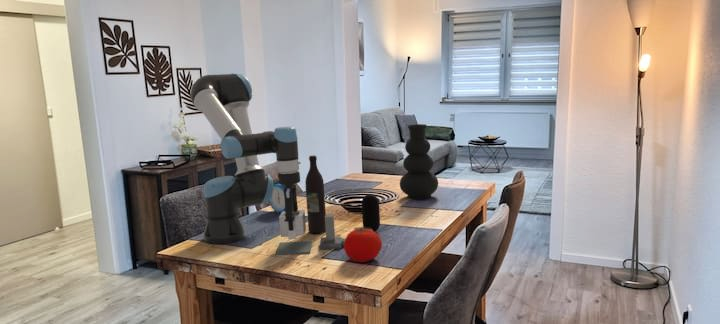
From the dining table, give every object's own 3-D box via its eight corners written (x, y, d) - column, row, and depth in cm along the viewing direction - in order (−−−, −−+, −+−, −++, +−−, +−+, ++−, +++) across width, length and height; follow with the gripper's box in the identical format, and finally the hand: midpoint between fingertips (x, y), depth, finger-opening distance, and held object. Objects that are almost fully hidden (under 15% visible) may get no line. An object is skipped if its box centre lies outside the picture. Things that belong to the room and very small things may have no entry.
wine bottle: (306, 230, 201) (301, 155, 196) (323, 227, 203) (318, 153, 199) (311, 235, 194) (306, 158, 189) (329, 232, 197) (324, 156, 192)
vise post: (320, 249, 177) (318, 219, 175) (321, 242, 185) (319, 213, 183) (373, 247, 177) (372, 216, 175) (372, 239, 185) (371, 210, 183)
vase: (444, 194, 248) (442, 123, 242) (428, 203, 233) (426, 127, 227) (410, 191, 258) (408, 123, 252) (393, 200, 243) (390, 127, 237)
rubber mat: (275, 255, 174) (274, 253, 174) (279, 244, 186) (279, 242, 186) (309, 253, 174) (309, 251, 174) (312, 242, 186) (312, 240, 186)
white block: (280, 237, 175) (278, 217, 174) (283, 230, 183) (282, 211, 182) (303, 235, 175) (302, 216, 174) (305, 229, 183) (304, 210, 182)
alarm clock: (268, 211, 234) (265, 179, 231) (278, 208, 239) (275, 177, 236) (288, 214, 226) (286, 181, 224) (298, 211, 231) (296, 179, 228)
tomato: (350, 253, 173) (349, 223, 171) (385, 254, 169) (384, 224, 167) (340, 265, 162) (338, 233, 160) (377, 267, 158) (375, 234, 157)
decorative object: (378, 229, 198) (376, 191, 195) (382, 234, 191) (380, 195, 189) (361, 230, 197) (359, 193, 194) (364, 235, 190) (362, 196, 188)
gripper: (296, 176, 165) (301, 243, 169) (302, 166, 186) (306, 226, 189) (273, 178, 165) (278, 245, 169) (281, 167, 186) (286, 227, 189)
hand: (293, 235), depth 179 cm, fingers closed on white block, 8 cm apart
